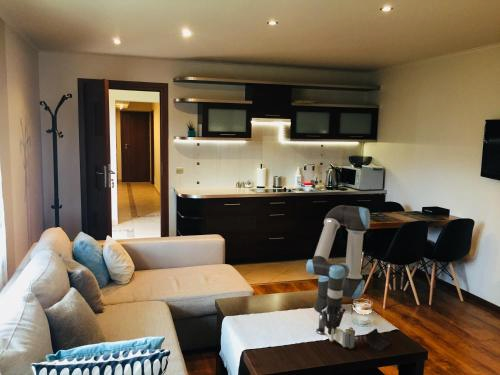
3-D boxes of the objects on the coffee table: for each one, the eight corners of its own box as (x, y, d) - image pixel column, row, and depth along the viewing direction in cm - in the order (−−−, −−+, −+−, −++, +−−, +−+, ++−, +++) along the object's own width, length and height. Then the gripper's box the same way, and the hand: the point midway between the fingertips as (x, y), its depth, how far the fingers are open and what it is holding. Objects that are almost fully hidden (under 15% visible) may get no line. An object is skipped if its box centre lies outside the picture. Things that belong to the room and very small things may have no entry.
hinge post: (313, 330, 226) (314, 313, 225) (322, 328, 229) (323, 311, 228) (321, 335, 221) (322, 318, 220) (329, 333, 224) (330, 316, 222)
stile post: (344, 346, 211) (345, 328, 210) (349, 344, 213) (351, 326, 212) (348, 349, 209) (349, 330, 207) (354, 347, 211) (355, 329, 209)
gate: (344, 347, 208) (345, 334, 207) (324, 333, 221) (324, 321, 220) (348, 345, 210) (349, 333, 209) (328, 332, 223) (329, 320, 222)
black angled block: (384, 350, 206) (374, 330, 209) (372, 354, 210) (363, 335, 213) (392, 344, 215) (383, 325, 219) (380, 348, 219) (371, 330, 222)
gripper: (327, 300, 204) (323, 344, 208) (349, 298, 208) (345, 342, 212) (320, 294, 211) (316, 337, 215) (342, 292, 215) (338, 334, 219)
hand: (330, 339), depth 213 cm, fingers closed
